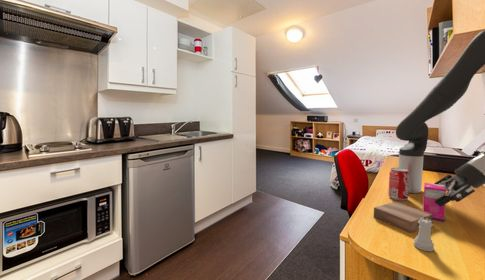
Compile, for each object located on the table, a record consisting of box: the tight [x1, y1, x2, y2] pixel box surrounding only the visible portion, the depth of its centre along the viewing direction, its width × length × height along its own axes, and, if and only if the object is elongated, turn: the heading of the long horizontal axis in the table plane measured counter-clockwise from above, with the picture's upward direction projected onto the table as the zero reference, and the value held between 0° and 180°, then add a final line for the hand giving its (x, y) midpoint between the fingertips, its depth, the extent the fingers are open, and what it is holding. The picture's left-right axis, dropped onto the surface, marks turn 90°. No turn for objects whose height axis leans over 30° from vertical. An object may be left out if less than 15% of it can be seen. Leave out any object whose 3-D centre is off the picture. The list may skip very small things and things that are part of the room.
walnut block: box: [373, 201, 433, 234], centre depth 76 cm, size 12×12×4 cm
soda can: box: [388, 167, 410, 202], centre depth 96 cm, size 7×7×13 cm
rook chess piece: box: [413, 218, 435, 253], centre depth 61 cm, size 4×4×8 cm
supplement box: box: [422, 182, 447, 222], centre depth 78 cm, size 6×6×12 cm
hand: (432, 199), depth 79 cm, fingers open, 8 cm apart
